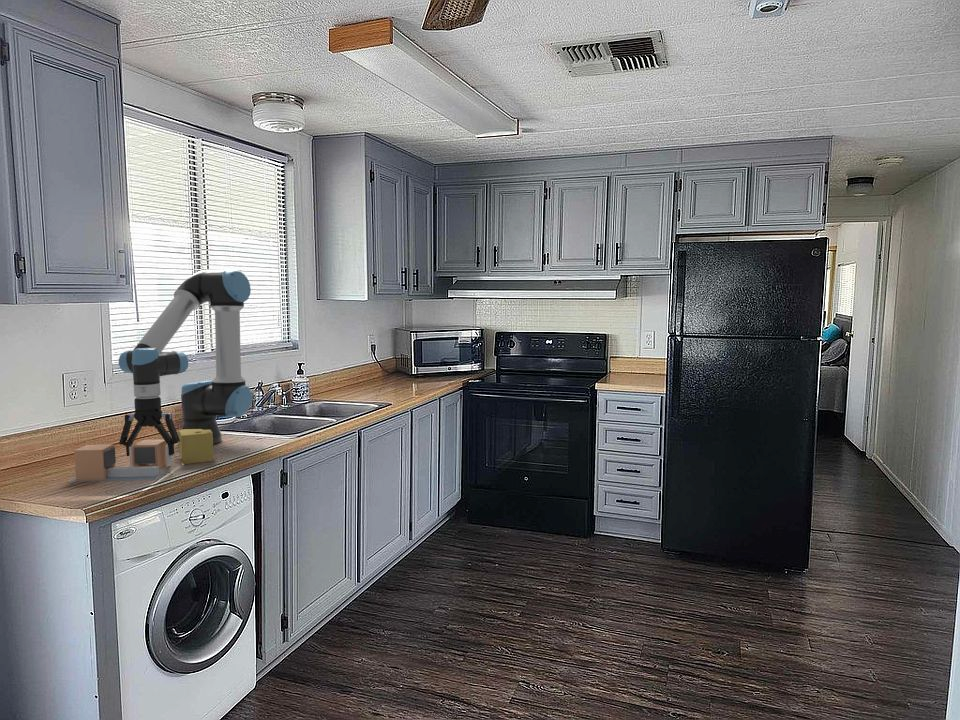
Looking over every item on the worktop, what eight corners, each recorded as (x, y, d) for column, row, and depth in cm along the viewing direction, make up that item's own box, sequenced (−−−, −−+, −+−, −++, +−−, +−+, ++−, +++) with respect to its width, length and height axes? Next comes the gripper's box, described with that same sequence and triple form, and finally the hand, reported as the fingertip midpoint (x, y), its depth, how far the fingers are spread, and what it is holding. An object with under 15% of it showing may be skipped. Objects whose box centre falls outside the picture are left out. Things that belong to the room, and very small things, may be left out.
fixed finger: (88, 473, 209) (86, 444, 208) (117, 472, 209) (115, 444, 208) (76, 480, 201) (74, 450, 200) (106, 479, 202) (104, 449, 201)
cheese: (211, 455, 237) (210, 426, 236) (215, 461, 227) (213, 432, 226) (179, 458, 232) (177, 429, 231) (181, 465, 223) (179, 435, 222)
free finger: (133, 474, 212) (131, 445, 211) (144, 467, 220) (143, 439, 219) (157, 473, 212) (156, 445, 211) (168, 466, 221) (166, 439, 220)
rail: (84, 475, 210) (83, 464, 210) (167, 473, 212) (166, 462, 211) (66, 484, 200) (66, 473, 200) (154, 482, 202) (153, 471, 201)
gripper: (104, 399, 210) (108, 469, 212) (180, 398, 211) (183, 467, 214) (115, 395, 217) (119, 463, 219) (189, 394, 219) (192, 461, 221)
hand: (151, 465), depth 216 cm, fingers open, 10 cm apart
